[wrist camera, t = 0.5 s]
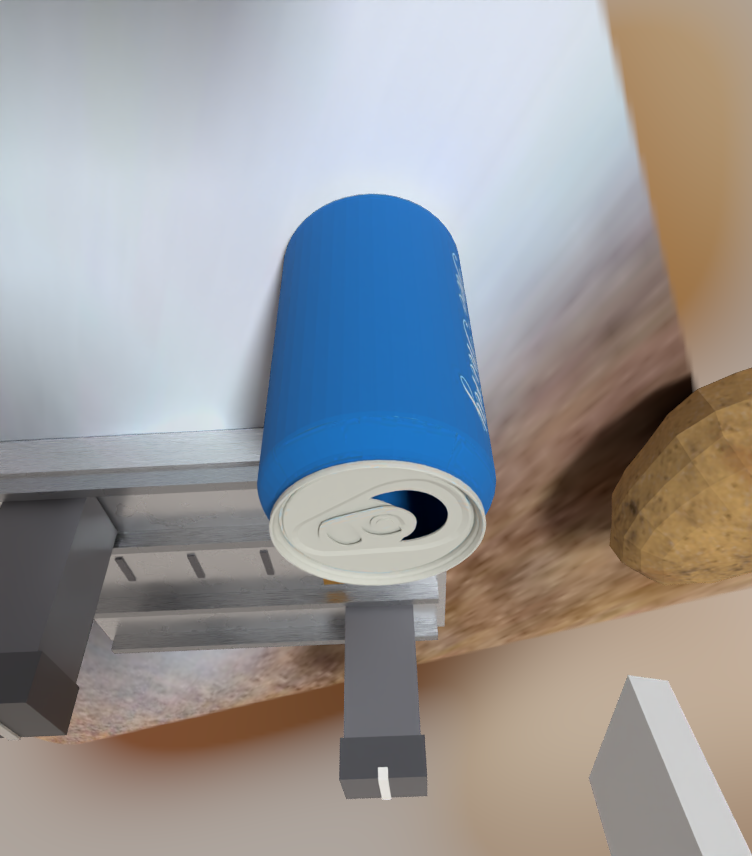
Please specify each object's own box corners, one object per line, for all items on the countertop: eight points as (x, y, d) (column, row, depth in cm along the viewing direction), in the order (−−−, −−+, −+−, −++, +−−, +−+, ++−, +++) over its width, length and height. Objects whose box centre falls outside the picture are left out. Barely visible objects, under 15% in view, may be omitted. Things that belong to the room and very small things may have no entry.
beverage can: (478, 297, 27) (528, 565, 19) (330, 346, 29) (320, 609, 21) (423, 152, 22) (460, 423, 15) (252, 220, 24) (201, 496, 16)
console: (-9, 442, 33) (-32, 492, 31) (447, 418, 32) (452, 468, 30) (118, 612, 46) (107, 655, 44) (441, 598, 46) (445, 640, 44)
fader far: (342, 597, 41) (339, 781, 34) (415, 594, 41) (427, 778, 34) (348, 626, 44) (346, 801, 37) (416, 623, 44) (427, 798, 37)
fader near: (2, 491, 32) (-91, 709, 26) (93, 486, 32) (24, 704, 25) (37, 535, 35) (-38, 742, 29) (121, 531, 35) (66, 738, 28)
